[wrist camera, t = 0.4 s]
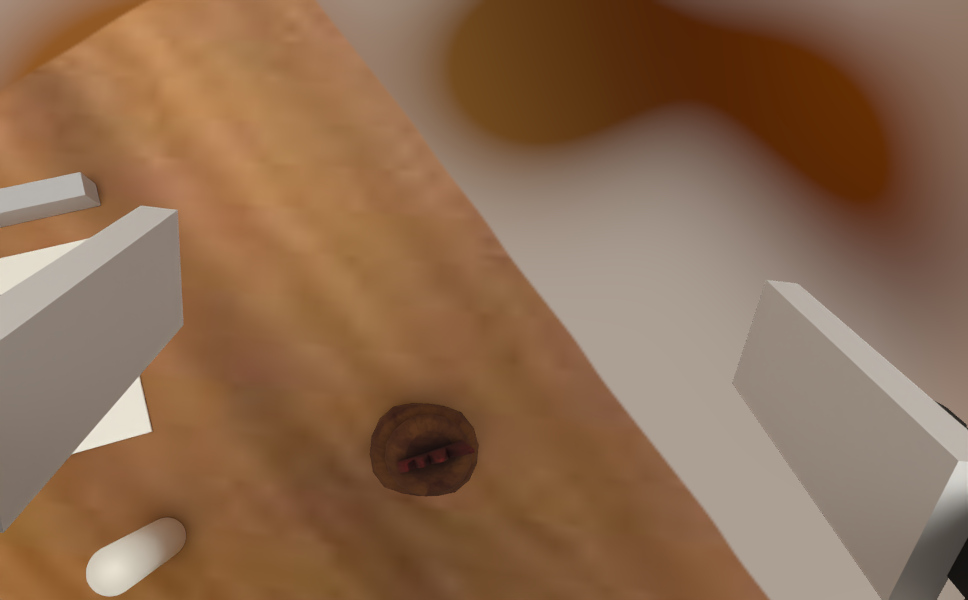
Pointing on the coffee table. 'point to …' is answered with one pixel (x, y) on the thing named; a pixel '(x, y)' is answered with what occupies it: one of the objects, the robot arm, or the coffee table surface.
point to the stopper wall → (47, 198)
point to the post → (134, 556)
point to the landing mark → (131, 407)
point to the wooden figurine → (423, 449)
